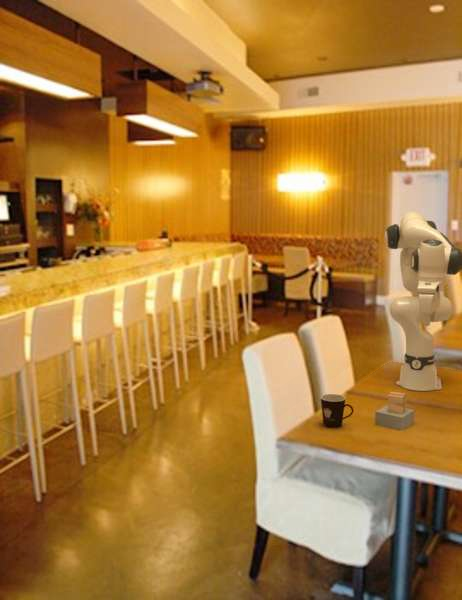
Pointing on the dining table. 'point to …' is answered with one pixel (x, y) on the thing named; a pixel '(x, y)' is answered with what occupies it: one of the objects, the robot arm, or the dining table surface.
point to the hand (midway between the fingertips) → (429, 323)
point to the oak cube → (396, 402)
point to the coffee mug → (333, 410)
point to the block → (394, 418)
